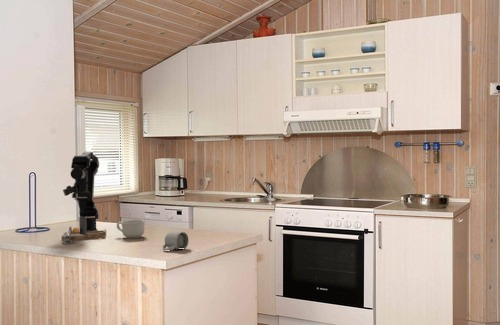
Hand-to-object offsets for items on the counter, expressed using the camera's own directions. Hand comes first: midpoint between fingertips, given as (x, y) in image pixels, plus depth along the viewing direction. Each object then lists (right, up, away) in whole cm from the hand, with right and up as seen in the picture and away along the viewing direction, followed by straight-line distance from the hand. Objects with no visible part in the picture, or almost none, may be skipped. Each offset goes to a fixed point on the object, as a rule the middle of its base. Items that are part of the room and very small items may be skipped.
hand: (81, 212), depth 260 cm
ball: (-2, -10, -3) cm, 11 cm away
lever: (0, -9, -9) cm, 13 cm away
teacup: (+25, -12, -3) cm, 28 cm away
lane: (+2, -12, -2) cm, 13 cm away
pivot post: (-2, -13, -15) cm, 20 cm away
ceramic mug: (+51, -13, -34) cm, 62 cm away
